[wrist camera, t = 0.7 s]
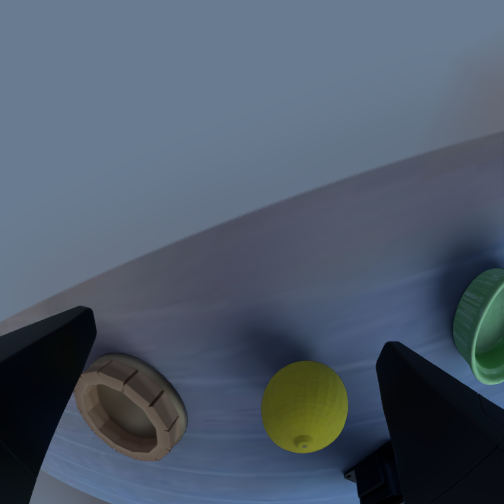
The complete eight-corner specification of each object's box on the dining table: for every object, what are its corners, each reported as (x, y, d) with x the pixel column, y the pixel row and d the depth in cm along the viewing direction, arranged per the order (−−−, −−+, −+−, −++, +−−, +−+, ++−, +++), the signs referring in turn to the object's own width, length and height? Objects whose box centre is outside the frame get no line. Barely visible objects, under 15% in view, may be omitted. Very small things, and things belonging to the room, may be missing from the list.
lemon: (292, 411, 20) (285, 483, 13) (254, 364, 20) (231, 432, 13) (352, 381, 19) (371, 451, 11) (318, 329, 19) (327, 391, 11)
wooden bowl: (209, 410, 22) (197, 434, 18) (158, 456, 24) (146, 475, 20) (111, 329, 22) (88, 343, 19) (81, 391, 24) (63, 405, 21)
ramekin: (469, 246, 17) (502, 253, 12) (528, 277, 16) (557, 287, 11) (428, 353, 18) (451, 379, 14) (492, 367, 17) (515, 388, 13)
